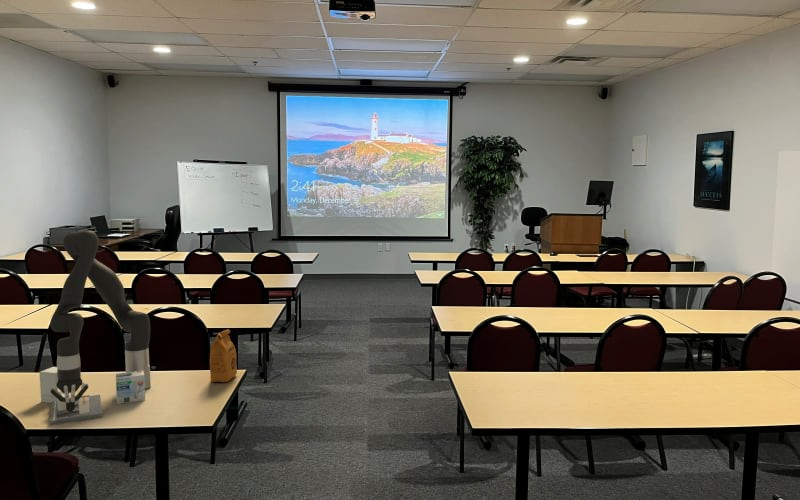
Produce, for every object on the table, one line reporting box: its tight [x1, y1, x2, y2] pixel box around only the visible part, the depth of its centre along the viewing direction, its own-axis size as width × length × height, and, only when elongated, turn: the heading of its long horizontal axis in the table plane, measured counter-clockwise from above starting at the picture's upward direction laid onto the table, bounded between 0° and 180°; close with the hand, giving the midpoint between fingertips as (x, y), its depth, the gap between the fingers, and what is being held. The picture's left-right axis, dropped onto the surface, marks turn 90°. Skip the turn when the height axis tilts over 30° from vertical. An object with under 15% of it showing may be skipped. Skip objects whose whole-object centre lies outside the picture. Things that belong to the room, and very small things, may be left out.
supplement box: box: [38, 366, 58, 404], centre depth 239 cm, size 7×7×13 cm
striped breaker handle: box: [79, 397, 90, 414], centre depth 223 cm, size 4×4×5 cm
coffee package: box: [209, 329, 238, 383], centre depth 265 cm, size 10×12×22 cm
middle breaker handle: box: [57, 394, 66, 411], centre depth 226 cm, size 4×4×5 cm
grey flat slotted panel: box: [49, 394, 104, 427], centre depth 228 cm, size 17×22×2 cm
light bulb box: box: [115, 370, 146, 405], centre depth 240 cm, size 11×7×11 cm, turn 117°
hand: (70, 411), depth 221 cm, fingers closed
